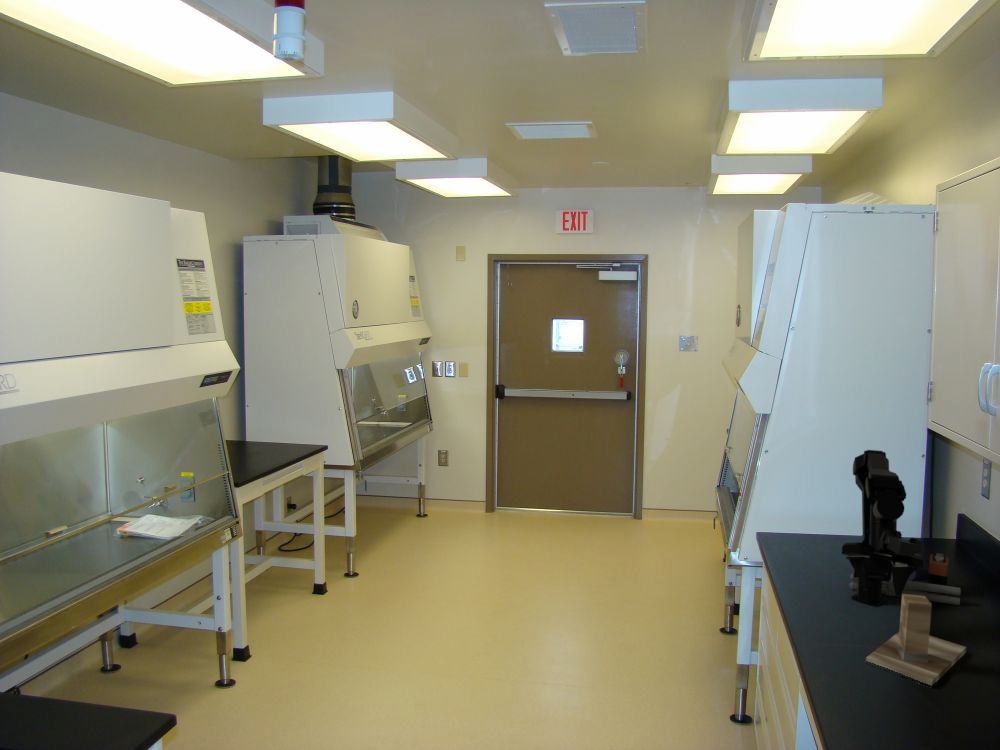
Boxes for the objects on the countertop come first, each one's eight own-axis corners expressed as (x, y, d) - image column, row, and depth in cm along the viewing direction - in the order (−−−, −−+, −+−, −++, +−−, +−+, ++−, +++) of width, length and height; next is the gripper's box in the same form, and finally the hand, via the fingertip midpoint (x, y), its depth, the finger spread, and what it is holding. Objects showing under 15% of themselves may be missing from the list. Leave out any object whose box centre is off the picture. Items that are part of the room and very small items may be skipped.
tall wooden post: (896, 650, 167) (901, 593, 165) (920, 652, 166) (925, 595, 164) (903, 660, 162) (908, 602, 160) (927, 663, 161) (932, 604, 159)
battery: (927, 593, 202) (929, 557, 201) (927, 585, 208) (930, 550, 206) (945, 597, 200) (949, 561, 198) (946, 589, 205) (949, 553, 204)
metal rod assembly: (957, 603, 196) (959, 585, 195) (959, 607, 193) (961, 589, 193) (849, 587, 206) (850, 570, 205) (849, 591, 203) (850, 573, 203)
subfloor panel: (903, 633, 178) (904, 627, 178) (965, 653, 169) (966, 647, 168) (865, 664, 163) (866, 657, 163) (931, 687, 154) (932, 680, 154)
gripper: (875, 516, 171) (874, 587, 166) (942, 532, 175) (943, 601, 170) (841, 519, 181) (839, 585, 177) (905, 533, 185) (904, 599, 181)
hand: (882, 593), depth 176 cm, fingers open, 9 cm apart
